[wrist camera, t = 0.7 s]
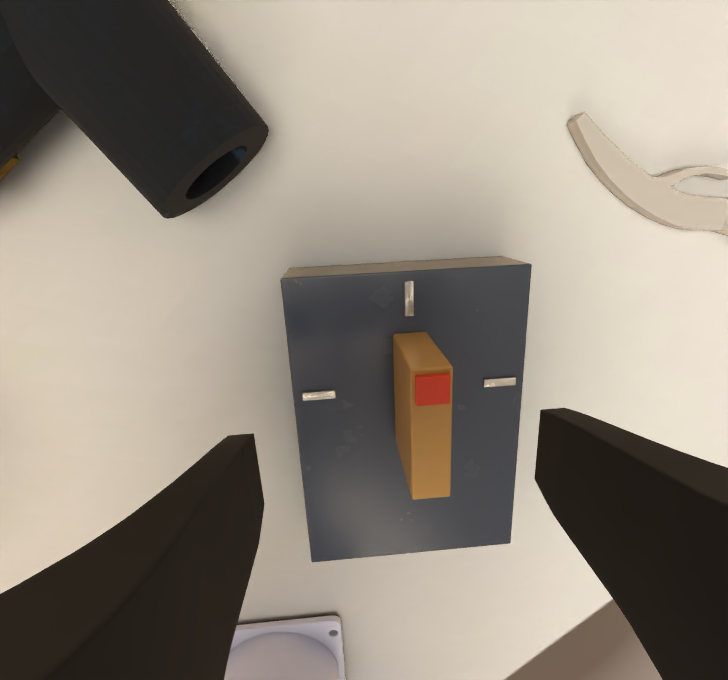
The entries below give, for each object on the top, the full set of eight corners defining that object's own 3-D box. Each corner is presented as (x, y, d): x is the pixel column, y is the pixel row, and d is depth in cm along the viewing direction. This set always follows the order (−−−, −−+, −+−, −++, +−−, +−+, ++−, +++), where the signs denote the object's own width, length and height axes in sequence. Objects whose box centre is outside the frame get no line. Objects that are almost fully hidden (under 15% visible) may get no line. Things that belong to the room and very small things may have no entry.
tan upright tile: (426, 437, 18) (452, 502, 14) (395, 440, 18) (413, 505, 14) (426, 331, 17) (455, 369, 13) (392, 333, 17) (411, 372, 13)
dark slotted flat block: (489, 503, 23) (511, 546, 20) (314, 519, 23) (311, 565, 20) (502, 255, 19) (534, 264, 16) (288, 268, 19) (279, 279, 16)
